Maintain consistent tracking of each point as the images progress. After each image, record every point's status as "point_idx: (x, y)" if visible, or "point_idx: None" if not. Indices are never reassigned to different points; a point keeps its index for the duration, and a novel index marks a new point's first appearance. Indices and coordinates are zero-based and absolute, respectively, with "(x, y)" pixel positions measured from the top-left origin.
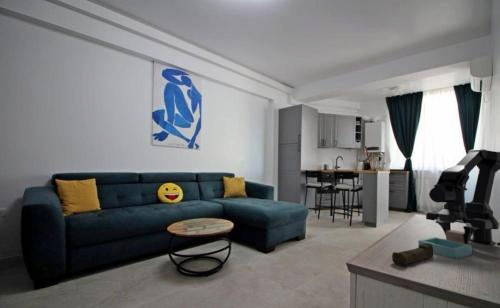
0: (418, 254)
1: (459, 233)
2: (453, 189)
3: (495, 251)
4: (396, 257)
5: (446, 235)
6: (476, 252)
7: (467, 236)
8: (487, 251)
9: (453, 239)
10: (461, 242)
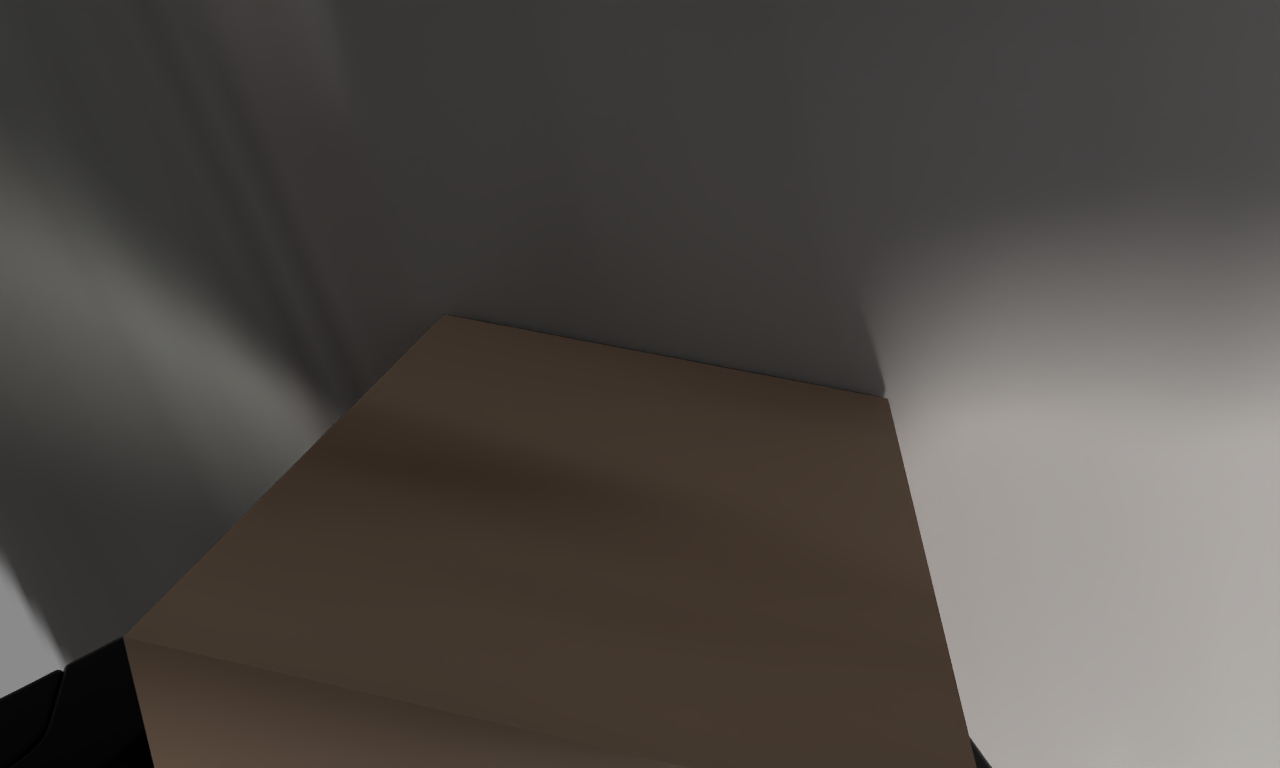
0: None
1: (259, 704)
2: None
3: (22, 597)
4: None
5: (919, 606)
6: (39, 84)
7: (82, 660)
8: (52, 465)
9: (640, 470)
10: (393, 395)
